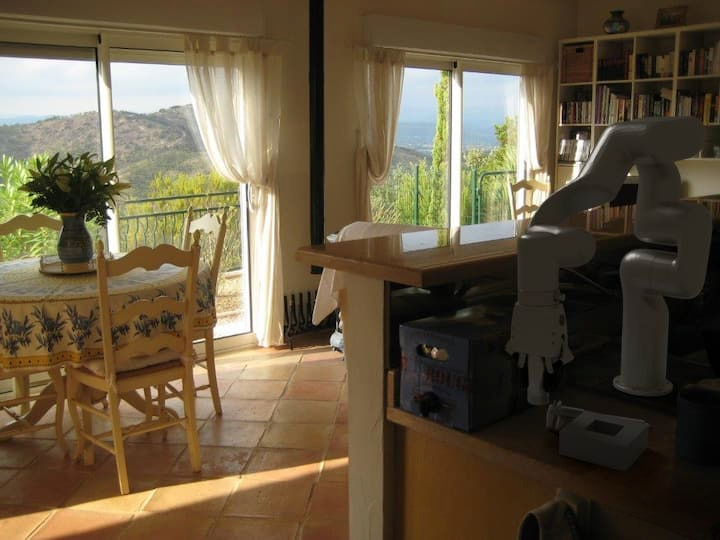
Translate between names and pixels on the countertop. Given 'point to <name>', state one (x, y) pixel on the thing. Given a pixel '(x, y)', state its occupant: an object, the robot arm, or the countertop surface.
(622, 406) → the countertop surface
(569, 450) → the bore block
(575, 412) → the caliper
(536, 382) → the steel pin
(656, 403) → the countertop surface
